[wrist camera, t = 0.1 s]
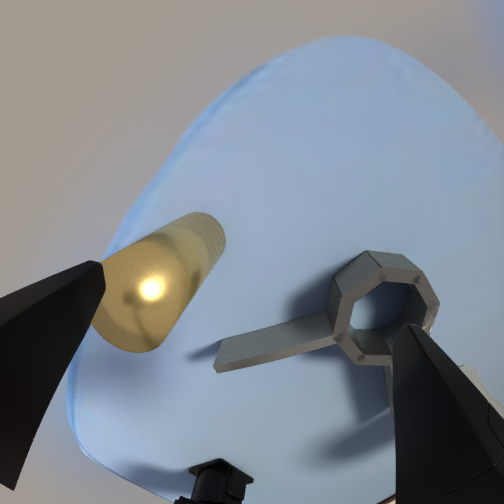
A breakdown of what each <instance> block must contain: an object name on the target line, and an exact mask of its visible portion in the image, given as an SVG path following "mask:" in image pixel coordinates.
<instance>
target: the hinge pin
mask: <svg viewBox="0 0 504 504" xmlns="http://www.w3.org/2000/svg"><path fill="white" fill-rule="evenodd" d="M225 243H226V238H225V233H224V230H223V228H222V226H221V225H220V223H219V222H218V221H217V220H216V219H215V218H213V217H212V216H210V215H208V214H205V213H201V212H194V213H190V214H187V215H185V216H183V217H181V218H179V219H177V220H175V221H173V222H172V223H170V224H168V225H166V226H164V227H162V228H160V229H159V230H157V231H155V232H153V233H151V234H149V235H148V236H146V237H144V238H142V239H140V240H139V241H137V242H135V243H133V244H132V245H130V246H128V247H126V248H124V249H123V250H121V251H119V252H117V253H116V254H114V255H112V256H111V257H109V258H107V259H105V260H104V261H102V262H100V263H101V264H102V265H103V269H104V275H105V281H106V291H105V293H104V296H103V298H102V300H101V302H100V304H99V306H98V308H97V311H96V313H95V315H94V317H93V320H92V322H91V324H92V325H93V327H94V328H95V330H96V331H97V332H98V333H99V334H100V335H101V336H102V337H103V338H104V339H105V340H106V341H108V342H109V343H110V344H112V345H114V346H115V347H117V348H120V349H122V350H125V351H128V352H133V353H144V352H148V351H151V350H154V349H155V348H157V347H158V346H159V345H161V344H162V343H163V341H164V340H165V339H166V337H167V336H168V334H169V332H170V331H171V329H172V328H173V326H174V325H175V323H176V322H177V320H178V319H179V317H180V316H181V314H182V313H183V311H184V310H185V308H186V307H187V305H188V304H189V302H190V301H191V299H192V298H193V296H194V295H195V293H196V292H197V291H198V289H199V288H200V286H201V285H202V283H203V282H204V280H205V279H206V277H207V276H208V274H209V273H210V271H211V270H212V268H213V267H214V265H215V264H216V263H217V261H218V260H219V258H220V257H221V255H222V253H223V251H224V249H225Z"/></svg>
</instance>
